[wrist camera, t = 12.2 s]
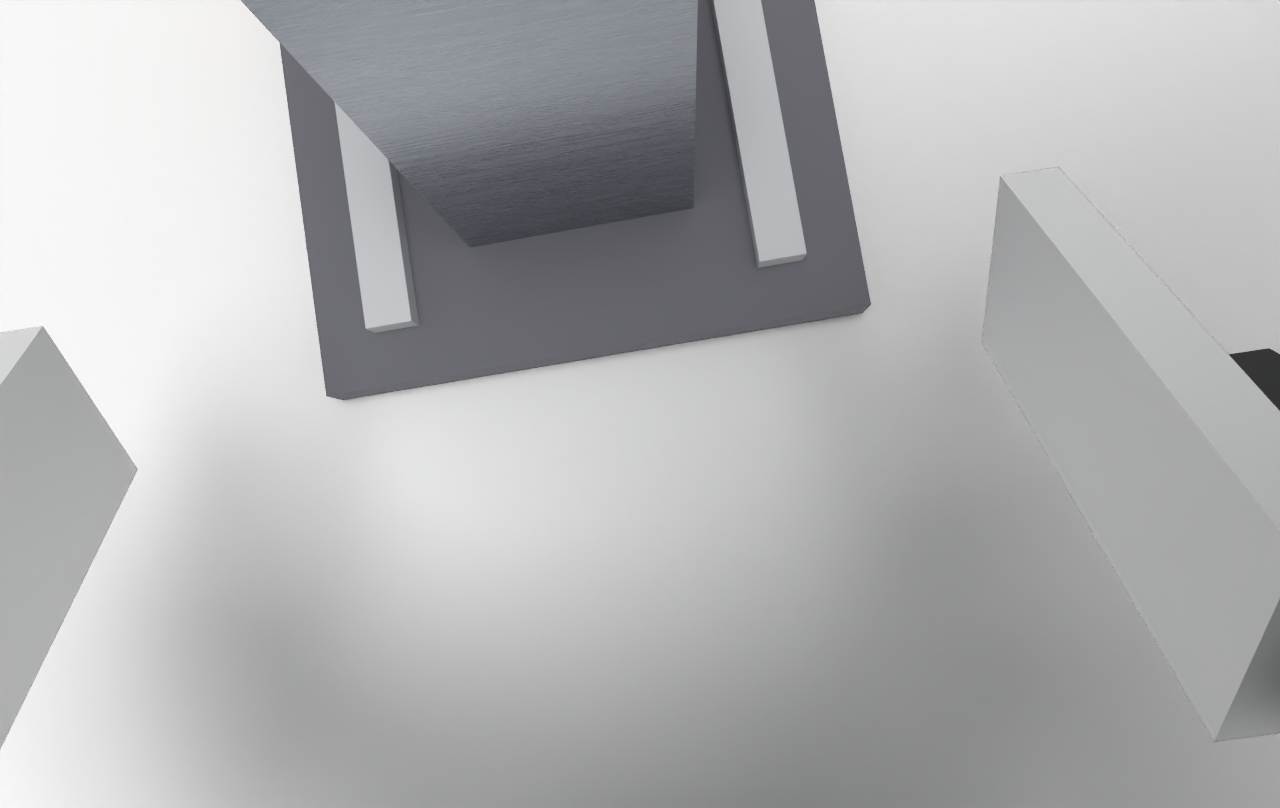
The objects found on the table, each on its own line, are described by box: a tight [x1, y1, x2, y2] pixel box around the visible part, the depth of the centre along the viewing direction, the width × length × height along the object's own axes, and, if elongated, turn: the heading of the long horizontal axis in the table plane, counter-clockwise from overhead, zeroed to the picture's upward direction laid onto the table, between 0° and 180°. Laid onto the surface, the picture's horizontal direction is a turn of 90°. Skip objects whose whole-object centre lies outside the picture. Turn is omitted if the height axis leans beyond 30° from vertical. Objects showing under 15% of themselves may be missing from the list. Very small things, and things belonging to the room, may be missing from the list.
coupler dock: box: [280, 0, 871, 400], centre depth 20 cm, size 12×12×4 cm
